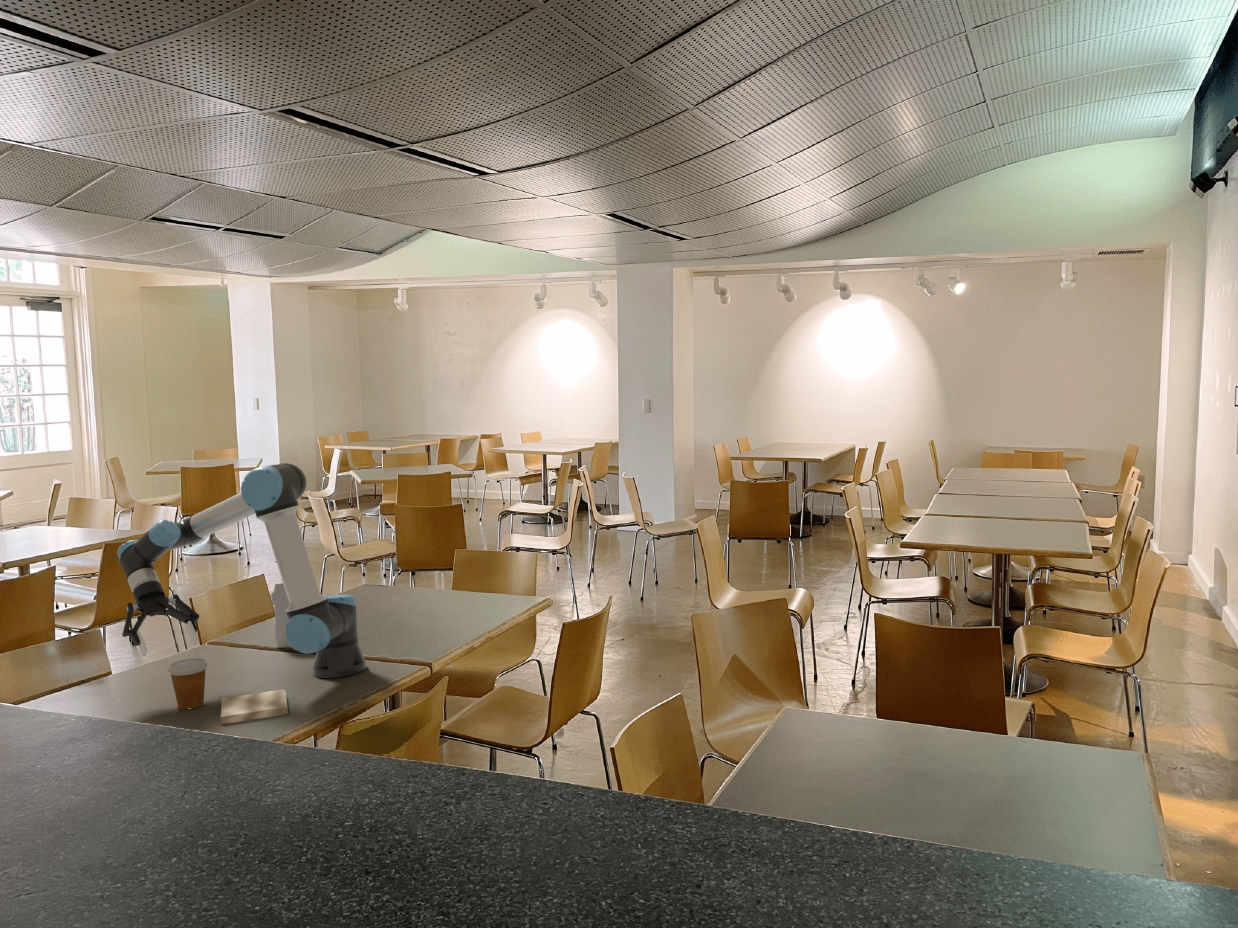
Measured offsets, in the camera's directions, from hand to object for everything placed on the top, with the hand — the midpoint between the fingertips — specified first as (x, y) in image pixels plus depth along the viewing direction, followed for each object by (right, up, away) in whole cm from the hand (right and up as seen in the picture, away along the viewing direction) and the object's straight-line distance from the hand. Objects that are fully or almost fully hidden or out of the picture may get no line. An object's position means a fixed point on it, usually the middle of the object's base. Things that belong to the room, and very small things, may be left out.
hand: (171, 647), depth 254 cm
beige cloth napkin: (+28, -14, -11) cm, 33 cm away
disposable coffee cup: (+8, -15, -6) cm, 18 cm away
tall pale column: (+15, -10, +52) cm, 55 cm away
